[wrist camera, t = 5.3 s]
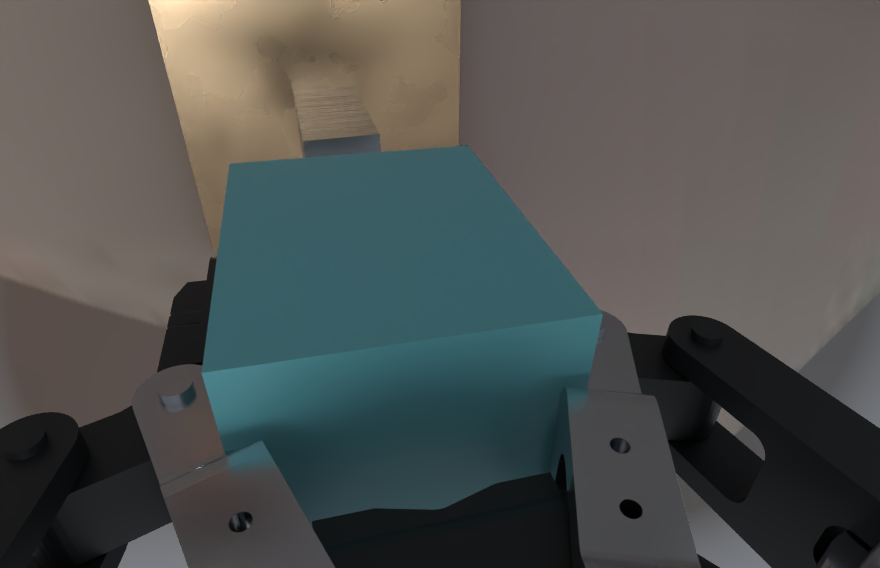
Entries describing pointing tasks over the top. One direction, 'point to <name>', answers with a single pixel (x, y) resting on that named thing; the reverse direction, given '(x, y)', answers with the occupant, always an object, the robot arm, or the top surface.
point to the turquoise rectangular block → (389, 329)
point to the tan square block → (307, 81)
